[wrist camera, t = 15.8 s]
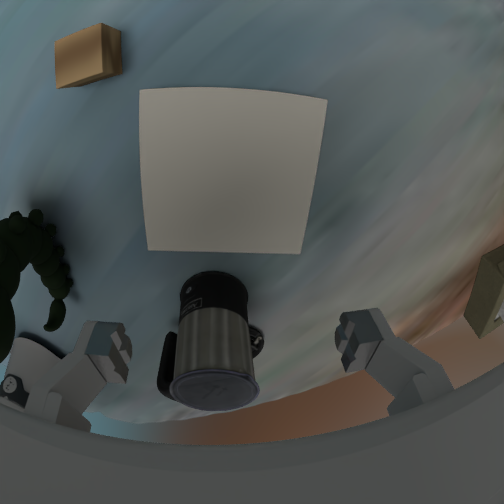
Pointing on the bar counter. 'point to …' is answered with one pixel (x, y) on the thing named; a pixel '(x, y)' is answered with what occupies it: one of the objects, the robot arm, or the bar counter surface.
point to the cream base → (228, 168)
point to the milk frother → (211, 347)
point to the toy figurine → (43, 261)
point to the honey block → (88, 56)
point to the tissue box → (487, 294)
